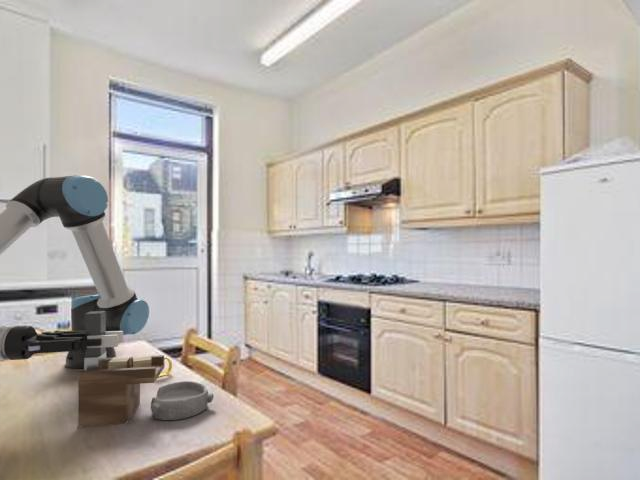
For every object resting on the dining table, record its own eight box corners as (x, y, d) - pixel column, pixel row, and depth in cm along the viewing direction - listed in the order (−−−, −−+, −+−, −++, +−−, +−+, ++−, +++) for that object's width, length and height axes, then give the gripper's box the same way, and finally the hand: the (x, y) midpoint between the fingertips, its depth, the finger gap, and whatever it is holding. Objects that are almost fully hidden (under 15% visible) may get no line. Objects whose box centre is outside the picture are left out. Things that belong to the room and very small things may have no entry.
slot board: (97, 406, 104) (97, 358, 104) (164, 401, 107) (164, 354, 107) (78, 426, 92) (78, 372, 92) (154, 421, 95) (153, 368, 95)
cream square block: (113, 369, 101) (113, 357, 101) (131, 368, 102) (131, 356, 102) (108, 374, 97) (108, 362, 97) (126, 373, 98) (126, 361, 98)
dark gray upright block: (92, 368, 101) (92, 310, 101) (107, 367, 101) (107, 310, 101) (83, 375, 95) (83, 314, 95) (99, 374, 96) (99, 314, 96)
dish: (152, 427, 92) (152, 405, 92) (146, 405, 104) (146, 386, 104) (217, 414, 99) (217, 393, 99) (205, 395, 111) (204, 377, 111)
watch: (168, 373, 131) (169, 354, 131) (172, 375, 129) (173, 356, 129) (149, 376, 126) (151, 357, 127) (153, 378, 124) (155, 358, 125)
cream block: (133, 369, 101) (132, 357, 101) (150, 367, 103) (150, 355, 103) (133, 374, 98) (133, 361, 98) (151, 371, 99) (151, 359, 99)
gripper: (30, 350, 103) (129, 345, 107) (-11, 370, 87) (108, 364, 91) (30, 320, 104) (129, 316, 107) (-11, 334, 87) (108, 330, 91)
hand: (119, 338), depth 99 cm, fingers closed on dark gray upright block, 3 cm apart
